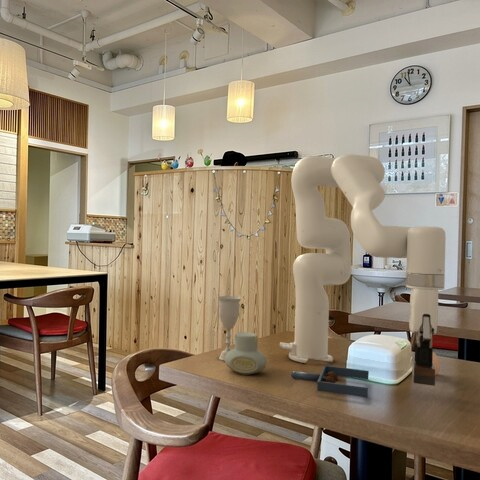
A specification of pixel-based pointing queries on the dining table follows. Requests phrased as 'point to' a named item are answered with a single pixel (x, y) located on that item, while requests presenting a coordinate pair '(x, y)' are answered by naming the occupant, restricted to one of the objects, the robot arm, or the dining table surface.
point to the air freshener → (245, 355)
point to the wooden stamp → (423, 374)
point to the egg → (436, 363)
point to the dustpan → (334, 386)
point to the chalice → (228, 317)
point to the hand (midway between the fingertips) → (423, 363)
